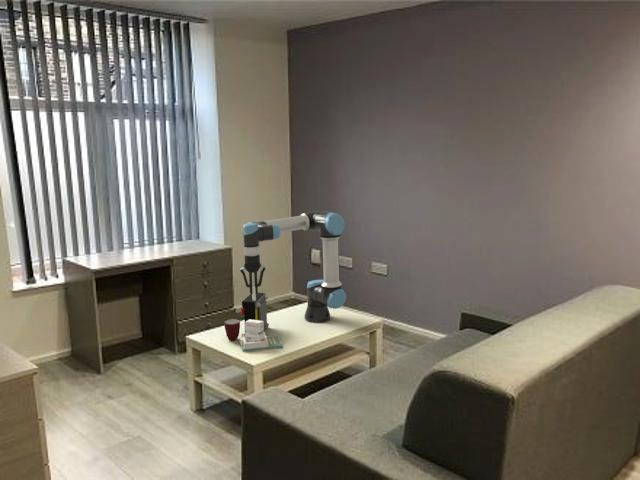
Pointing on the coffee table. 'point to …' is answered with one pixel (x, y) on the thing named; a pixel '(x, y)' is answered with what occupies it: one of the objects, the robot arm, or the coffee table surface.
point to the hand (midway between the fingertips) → (254, 299)
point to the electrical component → (255, 308)
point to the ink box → (254, 330)
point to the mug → (232, 329)
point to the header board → (260, 343)
